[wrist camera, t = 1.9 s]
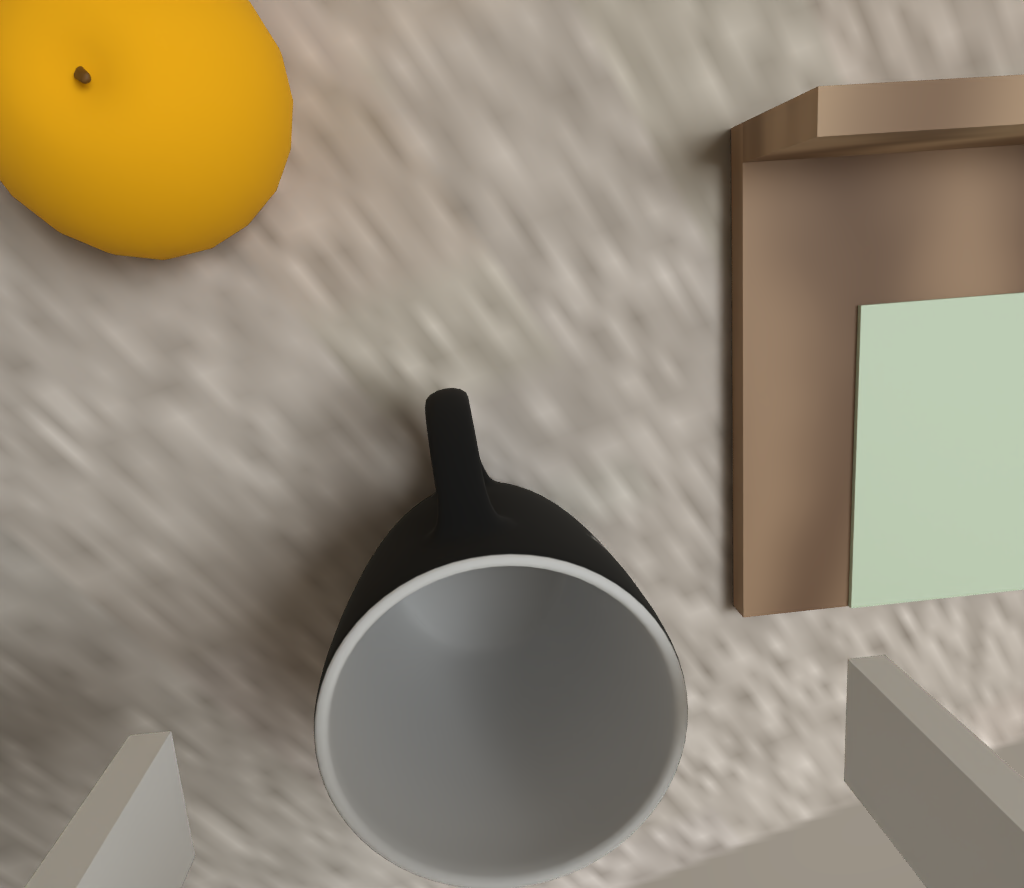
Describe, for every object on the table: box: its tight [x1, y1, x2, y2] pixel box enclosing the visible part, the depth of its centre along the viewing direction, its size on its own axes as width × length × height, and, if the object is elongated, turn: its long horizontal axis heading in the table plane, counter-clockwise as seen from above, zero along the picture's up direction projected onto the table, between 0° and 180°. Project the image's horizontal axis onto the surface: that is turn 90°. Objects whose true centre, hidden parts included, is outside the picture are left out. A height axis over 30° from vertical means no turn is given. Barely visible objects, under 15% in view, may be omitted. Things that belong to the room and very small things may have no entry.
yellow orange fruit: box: [0, 0, 293, 260], centre depth 20 cm, size 8×8×8 cm
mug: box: [314, 388, 688, 888], centre depth 23 cm, size 12×9×10 cm
